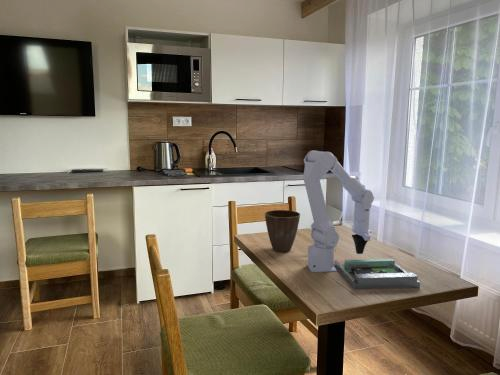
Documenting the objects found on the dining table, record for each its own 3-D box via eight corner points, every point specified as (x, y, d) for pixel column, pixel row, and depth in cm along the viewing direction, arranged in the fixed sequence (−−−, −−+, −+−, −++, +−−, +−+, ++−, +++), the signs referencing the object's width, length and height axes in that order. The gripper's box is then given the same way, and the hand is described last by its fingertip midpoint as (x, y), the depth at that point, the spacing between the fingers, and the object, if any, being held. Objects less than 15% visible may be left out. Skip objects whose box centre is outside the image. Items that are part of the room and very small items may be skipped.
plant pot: (261, 245, 176) (261, 210, 174) (293, 243, 179) (294, 209, 176) (269, 256, 162) (269, 218, 159) (303, 254, 164) (305, 216, 162)
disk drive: (362, 286, 134) (405, 284, 135) (363, 278, 133) (405, 276, 135) (352, 275, 144) (391, 273, 145) (352, 267, 143) (391, 265, 145)
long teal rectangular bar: (346, 272, 144) (347, 262, 143) (344, 270, 146) (344, 259, 145) (394, 271, 145) (395, 261, 144) (391, 269, 148) (392, 258, 147)
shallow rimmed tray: (354, 289, 129) (355, 278, 129) (334, 265, 152) (334, 255, 151) (419, 287, 131) (420, 276, 131) (389, 263, 154) (390, 253, 153)
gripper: (379, 224, 146) (376, 259, 149) (364, 215, 161) (362, 247, 163) (360, 224, 146) (358, 259, 148) (347, 215, 160) (345, 247, 162)
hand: (359, 253), depth 155 cm, fingers closed
